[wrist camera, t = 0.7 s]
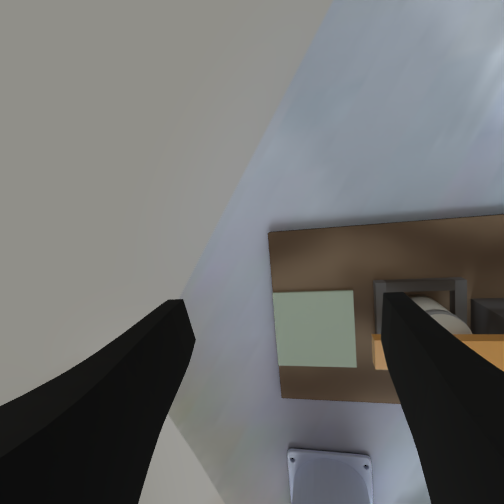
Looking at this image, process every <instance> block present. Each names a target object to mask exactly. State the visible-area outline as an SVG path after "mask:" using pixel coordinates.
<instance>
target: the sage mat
mask: <svg viewBox="0 0 504 504" xmlns="http://www.w3.org/2000/svg"><path fill="white" fill-rule="evenodd" d="M272 295H273V307H274V319H275V331H276V343H277V355H278V366H316V367H355V368H357V362H356V342H355V321H354V300H353V290H336V291H303V292H273V293H272Z"/></svg>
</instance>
